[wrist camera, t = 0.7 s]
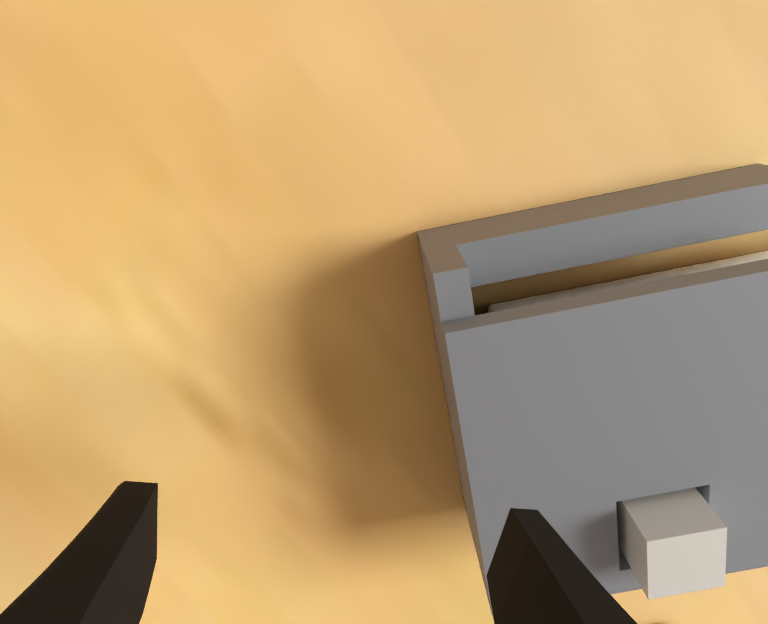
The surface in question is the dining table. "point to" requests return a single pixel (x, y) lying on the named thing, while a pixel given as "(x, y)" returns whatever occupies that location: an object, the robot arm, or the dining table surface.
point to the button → (672, 542)
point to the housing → (609, 369)
